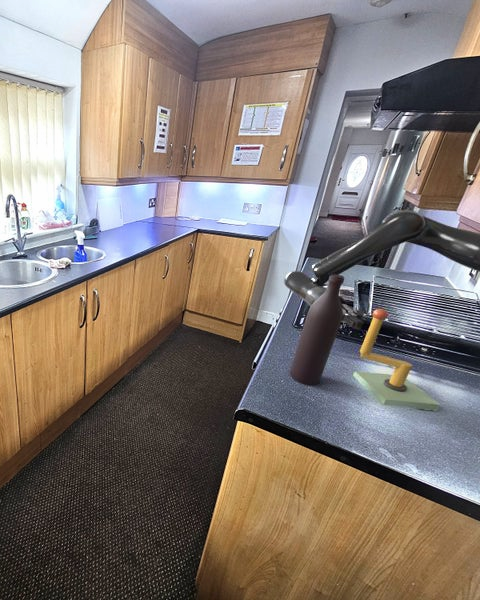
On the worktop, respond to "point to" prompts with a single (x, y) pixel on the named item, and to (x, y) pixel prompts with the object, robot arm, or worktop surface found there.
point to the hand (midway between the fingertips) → (359, 325)
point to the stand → (395, 391)
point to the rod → (401, 366)
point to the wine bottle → (318, 335)
